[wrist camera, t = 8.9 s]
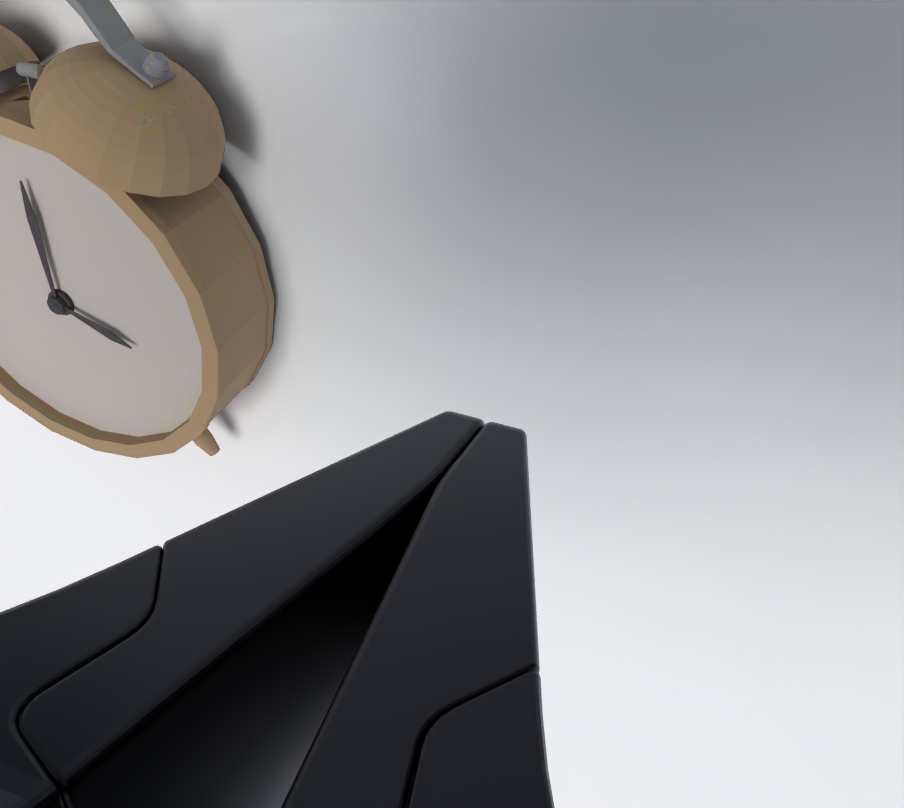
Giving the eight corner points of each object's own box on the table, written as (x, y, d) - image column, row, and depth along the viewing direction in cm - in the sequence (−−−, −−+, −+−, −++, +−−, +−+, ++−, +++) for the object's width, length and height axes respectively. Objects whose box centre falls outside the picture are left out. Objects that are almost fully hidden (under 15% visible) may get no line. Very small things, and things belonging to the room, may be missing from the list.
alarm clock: (-34, 413, 29) (-298, -57, 19) (61, 331, 32) (-119, -107, 22) (243, 503, 26) (113, 9, 16) (315, 404, 30) (247, -60, 19)
